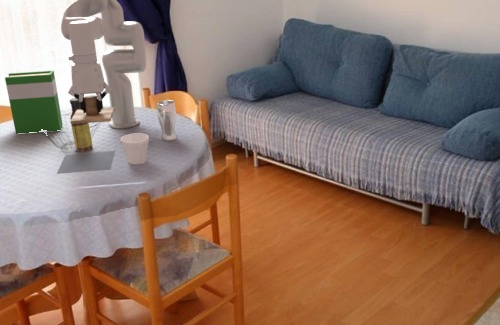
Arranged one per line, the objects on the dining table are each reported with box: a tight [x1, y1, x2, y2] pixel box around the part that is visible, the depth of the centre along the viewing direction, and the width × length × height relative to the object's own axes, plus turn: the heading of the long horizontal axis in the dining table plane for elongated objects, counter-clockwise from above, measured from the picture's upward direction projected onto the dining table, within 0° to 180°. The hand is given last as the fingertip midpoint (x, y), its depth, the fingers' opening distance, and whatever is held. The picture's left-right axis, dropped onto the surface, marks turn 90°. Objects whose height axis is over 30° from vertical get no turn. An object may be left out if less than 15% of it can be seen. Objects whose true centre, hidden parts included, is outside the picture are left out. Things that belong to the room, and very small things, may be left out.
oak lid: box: [69, 94, 115, 125], centre depth 198 cm, size 13×13×7 cm
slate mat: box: [56, 150, 116, 174], centre depth 206 cm, size 18×18×1 cm
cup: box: [120, 132, 150, 165], centre depth 204 cm, size 10×10×9 cm
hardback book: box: [4, 70, 64, 135], centre depth 238 cm, size 18×7×24 cm, turn 99°
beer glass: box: [156, 99, 178, 143], centre depth 224 cm, size 7×7×15 cm
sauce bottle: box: [69, 97, 93, 152], centre depth 215 cm, size 7×6×20 cm
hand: (92, 111), depth 199 cm, fingers closed on oak lid, 4 cm apart
